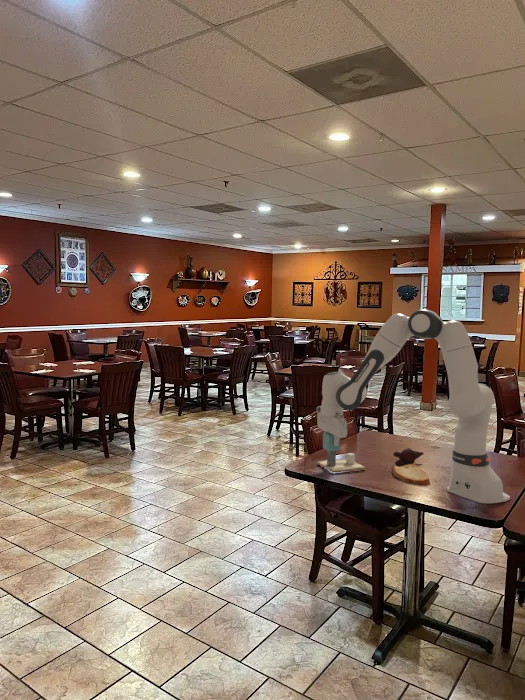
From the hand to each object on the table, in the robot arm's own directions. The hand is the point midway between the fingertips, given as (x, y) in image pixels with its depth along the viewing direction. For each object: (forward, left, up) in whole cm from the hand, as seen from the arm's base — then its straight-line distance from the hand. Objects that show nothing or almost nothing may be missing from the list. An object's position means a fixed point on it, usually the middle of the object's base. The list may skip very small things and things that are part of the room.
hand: (331, 443), depth 227 cm
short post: (0, -9, -9) cm, 13 cm away
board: (0, -5, -11) cm, 12 cm away
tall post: (0, 0, -9) cm, 9 cm away
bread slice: (-20, -26, -11) cm, 34 cm away
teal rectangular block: (0, 0, -2) cm, 2 cm away
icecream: (-4, -36, -11) cm, 37 cm away
